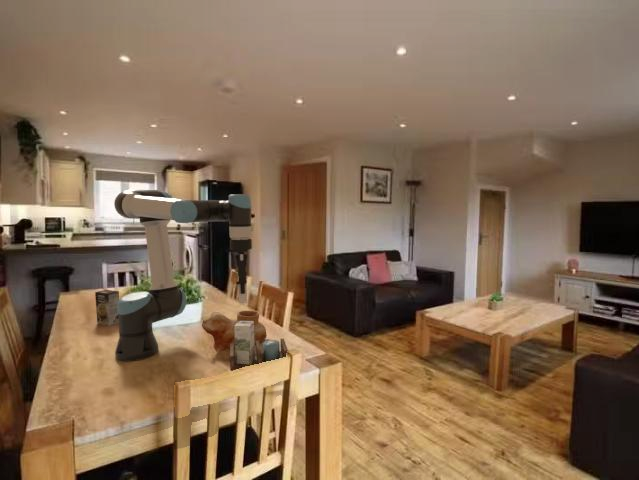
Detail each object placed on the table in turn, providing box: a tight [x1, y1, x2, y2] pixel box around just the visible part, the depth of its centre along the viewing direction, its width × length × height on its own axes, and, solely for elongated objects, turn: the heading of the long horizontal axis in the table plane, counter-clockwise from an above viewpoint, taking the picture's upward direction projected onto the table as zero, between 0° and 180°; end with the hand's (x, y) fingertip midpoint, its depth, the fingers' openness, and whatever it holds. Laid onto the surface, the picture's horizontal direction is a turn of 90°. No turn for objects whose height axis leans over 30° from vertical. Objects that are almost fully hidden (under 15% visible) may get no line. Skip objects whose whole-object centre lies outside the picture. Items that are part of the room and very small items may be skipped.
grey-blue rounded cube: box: [262, 339, 281, 361], centre depth 133 cm, size 6×6×6 cm
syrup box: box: [234, 321, 256, 365], centre depth 130 cm, size 6×6×14 cm
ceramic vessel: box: [201, 310, 267, 352], centre depth 149 cm, size 14×26×15 cm, turn 115°
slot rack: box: [229, 338, 289, 371], centre depth 132 cm, size 20×12×6 cm, turn 103°
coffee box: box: [94, 289, 120, 327], centre depth 180 cm, size 9×6×16 cm
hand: (242, 297), depth 129 cm, fingers open, 13 cm apart
